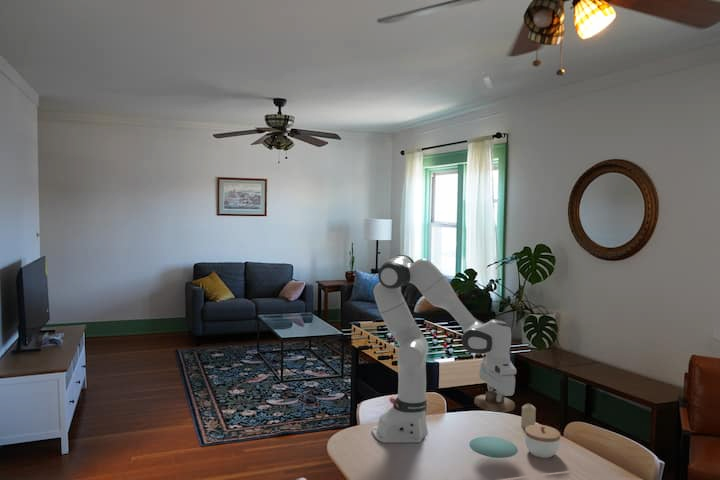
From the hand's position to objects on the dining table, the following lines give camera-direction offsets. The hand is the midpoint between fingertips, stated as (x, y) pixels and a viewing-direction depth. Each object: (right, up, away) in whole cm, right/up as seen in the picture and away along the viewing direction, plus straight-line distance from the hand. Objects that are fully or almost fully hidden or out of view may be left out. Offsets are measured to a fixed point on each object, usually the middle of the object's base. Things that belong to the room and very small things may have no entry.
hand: (494, 398), depth 212 cm
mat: (0, -19, +1) cm, 19 cm away
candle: (+19, -18, +21) cm, 34 cm away
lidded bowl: (+17, -20, -3) cm, 26 cm away
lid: (0, -2, 0) cm, 2 cm away
